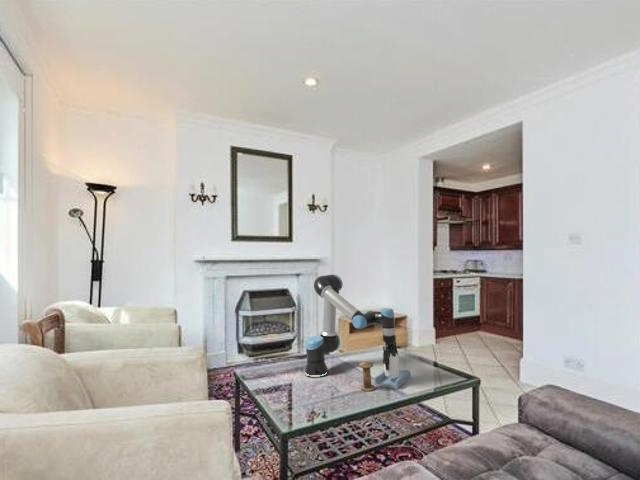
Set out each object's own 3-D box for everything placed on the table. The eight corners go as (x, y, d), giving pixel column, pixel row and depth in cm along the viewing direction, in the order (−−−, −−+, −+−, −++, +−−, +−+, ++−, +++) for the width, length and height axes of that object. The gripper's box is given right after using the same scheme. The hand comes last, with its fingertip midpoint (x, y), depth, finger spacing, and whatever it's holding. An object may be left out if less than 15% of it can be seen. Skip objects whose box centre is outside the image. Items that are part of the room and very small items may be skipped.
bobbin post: (358, 389, 197) (356, 365, 197) (365, 385, 203) (363, 361, 204) (370, 392, 192) (369, 367, 193) (377, 387, 198) (375, 362, 199)
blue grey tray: (374, 384, 203) (374, 377, 203) (389, 374, 219) (388, 367, 219) (397, 389, 194) (397, 381, 194) (410, 377, 210) (410, 370, 211)
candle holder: (400, 378, 200) (399, 357, 201) (383, 378, 202) (382, 357, 203) (400, 372, 210) (398, 352, 210) (384, 372, 212) (382, 352, 212)
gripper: (386, 339, 196) (389, 379, 195) (402, 331, 214) (404, 368, 213) (375, 338, 200) (377, 377, 199) (390, 330, 218) (393, 366, 217)
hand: (391, 372), depth 206 cm, fingers closed on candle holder, 9 cm apart
